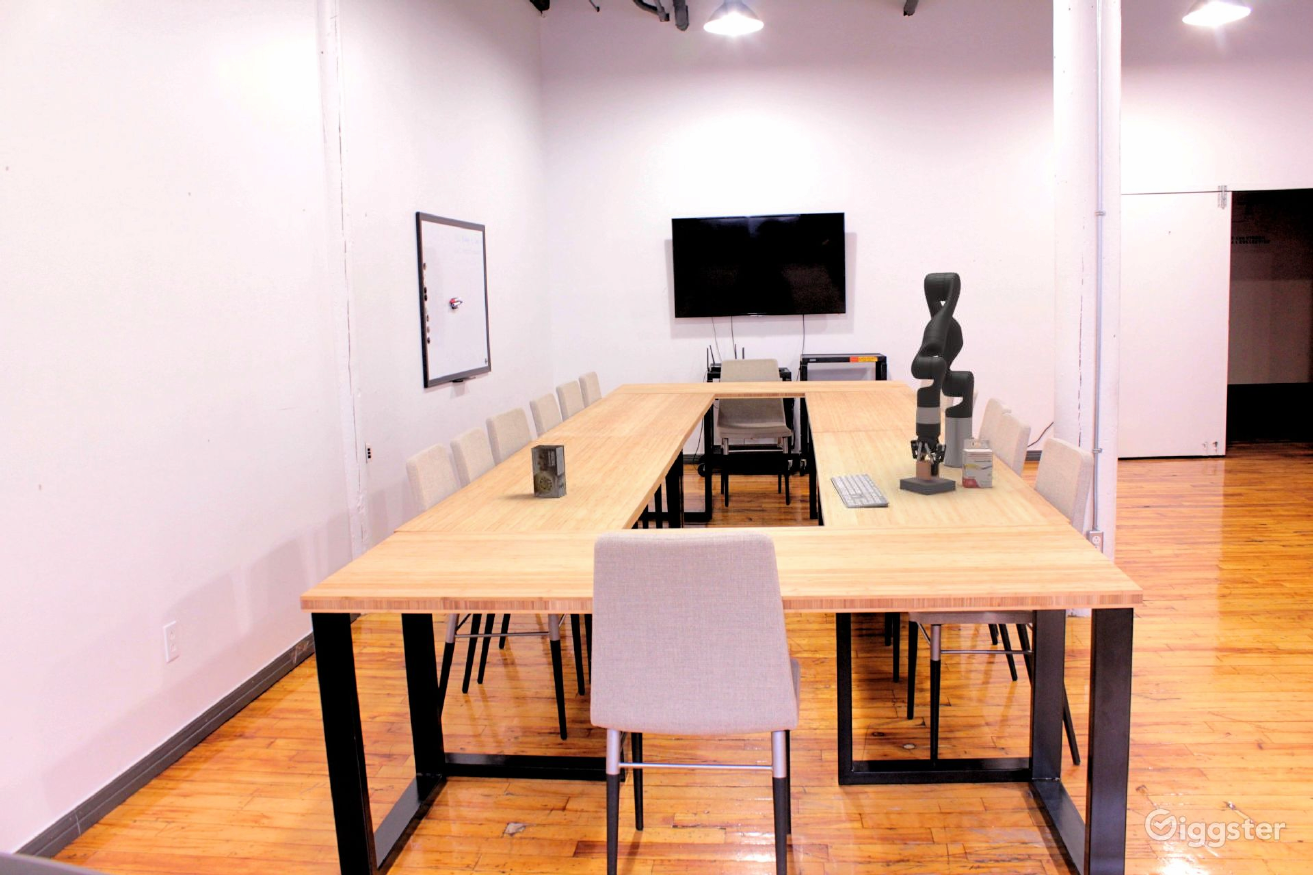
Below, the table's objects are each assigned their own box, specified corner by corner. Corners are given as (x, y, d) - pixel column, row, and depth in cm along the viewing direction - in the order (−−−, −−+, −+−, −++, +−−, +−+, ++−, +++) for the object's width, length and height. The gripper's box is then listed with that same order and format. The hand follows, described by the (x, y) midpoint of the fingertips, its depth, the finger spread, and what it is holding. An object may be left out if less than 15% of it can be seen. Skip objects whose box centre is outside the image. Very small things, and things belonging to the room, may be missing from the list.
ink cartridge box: (964, 487, 319) (965, 441, 317) (961, 484, 324) (962, 439, 322) (992, 487, 319) (993, 441, 316) (989, 484, 323) (990, 438, 321)
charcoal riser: (928, 484, 327) (928, 474, 326) (955, 490, 316) (955, 480, 316) (899, 488, 321) (899, 479, 321) (926, 495, 311) (926, 485, 310)
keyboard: (830, 480, 340) (830, 473, 340) (867, 479, 339) (867, 473, 339) (846, 509, 297) (846, 501, 296) (889, 509, 296) (889, 501, 295)
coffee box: (567, 493, 329) (565, 444, 326) (559, 498, 323) (556, 448, 320) (541, 492, 332) (539, 444, 329) (533, 496, 326) (530, 447, 323)
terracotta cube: (928, 474, 321) (928, 459, 320) (939, 477, 317) (939, 461, 316) (916, 476, 319) (916, 461, 318) (927, 479, 315) (927, 463, 314)
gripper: (954, 422, 311) (953, 476, 313) (921, 417, 323) (921, 469, 326) (935, 424, 307) (934, 479, 310) (903, 419, 320) (903, 472, 322)
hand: (927, 474), depth 318 cm, fingers closed on terracotta cube, 5 cm apart
